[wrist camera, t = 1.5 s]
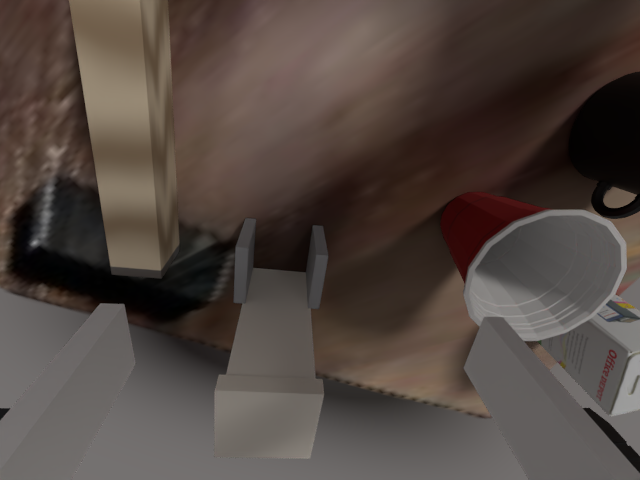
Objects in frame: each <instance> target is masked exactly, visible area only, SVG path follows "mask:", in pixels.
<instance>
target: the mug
mask: <svg viewBox="0 0 640 480" xmlns="http://www.w3.org/2000/svg"><path fill="white" fill-rule="evenodd" d="M569 153H570V157H571V160H572V162H573V164H574V166H575V168H576V169H577V170H578V171H579V172H580V173H581V174H582V175H584V176H585V177H588V178H590V179H593V180H596V181H599V182H598V183H597V187H596V188H595V190H594V192H593V194H592V199H591V203H592V206H593V208H594V210H595V211H596V212H597V213H599V214H600V215H601V216H603V217H606V218H611V219H618V218H625V217H628V216H631V215H633V214H635V213H637V212H639V211H640V72H634V73H631V74H628V75H625V76H623V77H620V78H618V79H616V80H614V81H612V82H611V83H609V84H608V85H606V86H605V87H603V88H602V89H601V90H599V91H598V92H597V93H596V94H595V95H594V96H593V97H592V98H591V99H590V100H589V101H588V102H587V104H586V105H585V106H584V108H583V109H582V111H581V112H580V114H579V115H578V117H577V119H576V121H575V123H574V126H573V128H572V131H571V135H570V140H569ZM612 186H613V187H616V188H619V189H622V190H625V191H628V192H631V193H634V194H636V195H637V196H636V197H635V200H633V201H632V202H631V203H629V204H628V205H626V206H623V207H620V208H608V207H607V206H605V204H604V203H603V198H604V195H605V193H606V191H607V190H610V189H611V187H612Z"/></svg>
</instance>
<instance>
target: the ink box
mask: <svg viewBox="0 0 640 480" xmlns="http://www.w3.org/2000/svg"><path fill="white" fill-rule="evenodd" d="M537 342H538V343H539V344H540V345H541V346H542V347H543V348H544V349H545V350H546V351H547V352H548V353H549V354H550V355H551V356H552V357H553V358H554V359H555V360H556V361H557V362H558V363H559V364H560V365H561V366H562V367H563V368H564V369H565V370H566V372H567V373H568V374H569V375H570V376H571V377H572V378H573V379H574V380H575V381H576V382H577V383H578V384H579V385H580V386H581V387H582V388H583V389H584V390H585V391H586V392H587V394H588V395H590V397H591V398H592V399H593V400H594V401H595V402H596V403H597V404H598V405H599V406H600V407H601V408H602V409H603V410H604V411H605V412H606V413H607V414H608V415H609V416H615V415H620V414H624V413H628V412H633V411H638V410H640V311H639V310H637V309H636V308H634V307H633V306H631V305H630V304H628V303H627V302H625V301H624V300H623V299H621V298H620V297H618V296H617V295H614V296H613V297H612V298H611V299H610V300H609V301H608V302H607V303H606V304H605V305H604V306H603V307H602V309H601V310H600V311H599V312H598V313H597V314H596V315H595V316H594V317H592V318H591V319H589V320H587V321H586V322H584V323H582V324H580V325H579V326H577V327H575V328H574V329H572V330H570V331H569V332H567V333H564V334H560V335H557V336H553V337H550V338H546V339H543V340H539V341H537Z"/></svg>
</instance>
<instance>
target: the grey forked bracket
mask: <svg viewBox="0 0 640 480" xmlns="http://www.w3.org/2000/svg"><path fill="white" fill-rule="evenodd" d="M255 230H256V219H251V218H245V221H244V224H243V227H242V230H241V233H240V236H239V239H238V242H237V245H236V251H235V278H234V303H242V307H241V312H240V316H239V320H238V325H237V329H236V333H235V338H234V342H233V347H232V351H231V355H230V360H229V364H228V368H227V373H226V375H219V376H218V380H217V384H216V387H215V428H214V429H215V431H214V457H231V458H232V457H233V458H234V457H235V458H300V459H301V458H302V459H310V457H311V452H312V448H313V443H314V439H315V433H316V429H317V425H318V420H319V416H320V411H321V406H322V402H323V397H324V389H323V379H316V378H315V363H314V349H313V335H312V320H311V308H312V309H319V306H320V300H321V295H322V289H323V283H324V278H325V272H326V267H327V261H328V251H327V245H326V240H325V235H324V230H323V226H318V225H313V227H312V234H311V241H310V247H309V254H308V261H307V268H306V272H296V271H284V270H273V269H261V268H253V261H254V246H255Z"/></svg>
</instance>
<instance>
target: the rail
mask: <svg viewBox="0 0 640 480" xmlns="http://www.w3.org/2000/svg"><path fill="white" fill-rule="evenodd" d="M69 3H70V9H71V16H72V22H73V29H74V35H75V42H76V48H77V54H78V61H79V67H80V74H81V80H82V87H83V93H84V99H85V106H86V112H87V119H88V125H89V132H90V138H91V144H92V151H93V157H94V164H95V170H96V177H97V183H98V189H99V196H100V202H101V209H102V215H103V222H104V228H105V234H106V241H107V247H108V254H109V260H110V267H111V273H112V275H123V276H136V277H149V278H161V279H162V277H163V276H164V274H165V273H166V271H167V270H168V268H169V267H170V265H171V263H172V262H173V260H174V259H175V257H176V256H177V254H178V253H179V251H180V244H179V223H178V202H177V181H176V160H175V139H174V118H173V96H172V75H171V54H170V33H169V12H168V0H69Z"/></svg>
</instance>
